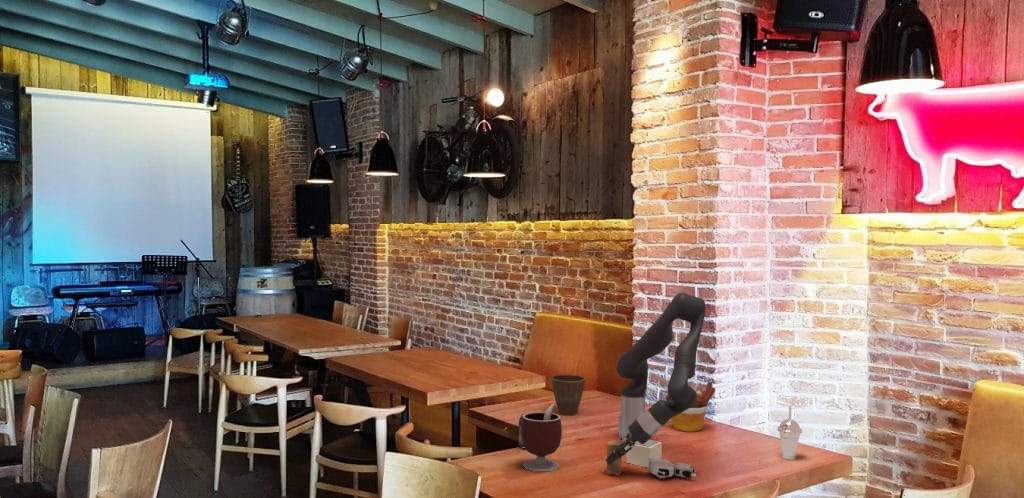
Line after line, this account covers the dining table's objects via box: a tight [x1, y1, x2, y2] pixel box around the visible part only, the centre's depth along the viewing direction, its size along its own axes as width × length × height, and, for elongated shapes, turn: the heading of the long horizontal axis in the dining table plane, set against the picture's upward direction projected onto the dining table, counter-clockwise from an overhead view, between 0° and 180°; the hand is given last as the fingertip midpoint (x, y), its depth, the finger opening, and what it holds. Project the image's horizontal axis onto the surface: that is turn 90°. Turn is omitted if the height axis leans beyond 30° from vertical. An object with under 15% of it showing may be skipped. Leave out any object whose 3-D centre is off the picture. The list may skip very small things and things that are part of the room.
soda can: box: [518, 413, 525, 449], centre depth 275 cm, size 7×7×12 cm
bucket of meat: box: [664, 381, 716, 433], centre depth 305 cm, size 20×16×20 cm
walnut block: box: [606, 440, 622, 476], centre depth 246 cm, size 4×4×10 cm
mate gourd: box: [521, 403, 563, 472], centre depth 252 cm, size 16×14×20 cm
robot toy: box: [647, 458, 697, 479], centre depth 244 cm, size 12×4×15 cm
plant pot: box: [551, 374, 586, 416], centre depth 329 cm, size 15×15×16 cm
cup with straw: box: [775, 400, 803, 460], centre depth 266 cm, size 8×9×20 cm
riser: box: [625, 439, 663, 468], centre depth 257 cm, size 9×9×7 cm
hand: (608, 460), depth 246 cm, fingers closed on walnut block, 4 cm apart
